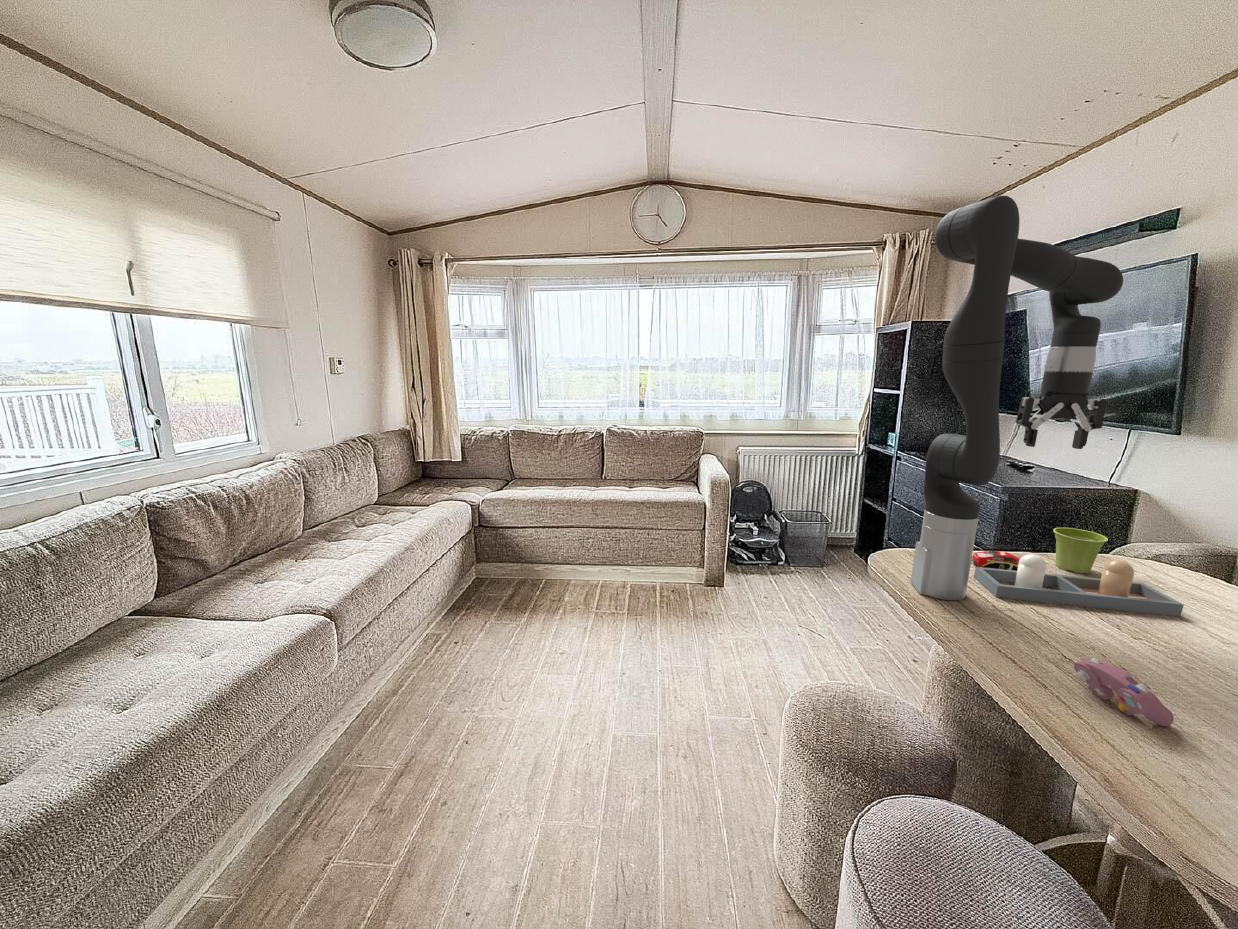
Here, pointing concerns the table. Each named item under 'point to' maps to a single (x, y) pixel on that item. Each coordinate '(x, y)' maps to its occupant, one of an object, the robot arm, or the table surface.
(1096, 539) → the plant pot
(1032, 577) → the white capsule
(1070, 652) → the table surface
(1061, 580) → the divided rectangular frame
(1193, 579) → the table surface
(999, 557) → the race car
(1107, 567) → the beige capsule
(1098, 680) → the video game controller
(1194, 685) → the table surface
